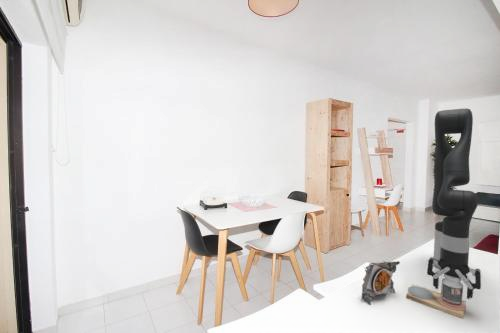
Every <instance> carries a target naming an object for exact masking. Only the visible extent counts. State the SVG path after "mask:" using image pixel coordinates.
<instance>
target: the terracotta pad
mask: <svg viewBox="0 0 500 333" xmlns="http://www.w3.org/2000/svg"><path fill="white" fill-rule="evenodd" d="M437 301H438V302H439V303H440V304H441V305H443V306H444V307H447V308H449V309H452V310H456V311H464V312H465V311H466V310H467V305H465V304H464V303H463V302H462V306H460V307H453V306H450V305H447V304H446V303H444V302H443V301H442V300H441V296H439V297H437Z"/></svg>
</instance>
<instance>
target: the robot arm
mask: <svg viewBox="0 0 500 333" xmlns="http://www.w3.org/2000/svg"><path fill="white" fill-rule="evenodd" d="M473 121H474V118H473V112H472V110H471V109H470V108H455V109H445V110H439V111H437V112H436V114H435V117H434V138H435V139H434V141H435V142H434V143H435V144H434V145H435V150H434V151H435V152H434V153H435V154H434V162H433V163H434V167H433V176H434V177H433V180H434V181H433V193H432V195H433V196H432V204H431V206H432V207H431V209H432V212H433V214H434V215H437V216H442V217H443V219H442V221H438V222H436V223H435V225H434V243H433V257H432V256H431V257H430V258H428V262H427V263H428V264H427V270H426V274H427V275H428V276H431V277H432V278H433V279H432V280H433V281H432V285H433V287H434V289H435V290H438V289H439V286H440V285H439V283H440V277H442V276H444V273H445V274H446V275H449V276H453V277H456V278H461V282H463V283H464V284H465V285H466V287H467V288H466V299H467V300H470V299H472V298H473V295H474V290H481V288H482V282H481V281H482V278H481V277H482V274H481V273H482V272H481V269H480V268H476V269H475V268H470V267H469V258H470V257H469V255H470V239H469V237H470V225H471V222H472V218H473V216H474V214H475V212H476V210H477V207H479V196H478V195H477V194H476V193H475V192H474V191H472V190H461V189H451V188H453V187H462V186H466V185H468V184H469V183H470V180H471V178H470V177H471V175H470V174H471V172H470V152H471V145H472V138H473V137H472V136H473V125H474V124H473ZM452 134H453V135H454V134H455V135H457V134H460V137H459V140H458V142H457V143H456V144H455V146H454V147H452V146H451V144H450V143H449V142H448V140H447V138H446V135H452ZM434 267H436V268H437V269H438V270H437V271H433V270H434V269H433V268H434ZM469 273H470V274H471V275H472V276H473V277H474V279H475V281H474V282H472V281H471V280H470V278H469V276H468V274H469Z"/></svg>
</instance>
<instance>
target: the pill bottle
mask: <svg viewBox="0 0 500 333" xmlns="http://www.w3.org/2000/svg"><path fill="white" fill-rule="evenodd" d="M443 277H444V278H442V280H441V287H440V288H441V289H440V293H441V300H442V301H443V302H444V303H446V304H447V305H450V306H453V307H460V306H462V300H463V293H464V292H463V291H464V290H463V289H464V288H463V287H464V285H463V283H462V279H461V278H456V277H453V276H449V275H446V274H445V273H444V274H443Z"/></svg>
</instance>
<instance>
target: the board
mask: <svg viewBox="0 0 500 333" xmlns="http://www.w3.org/2000/svg"><path fill="white" fill-rule="evenodd" d="M411 286H417V287H422V288H424V289H427V290H429V291H430V292H432V293H433V295H434V298H433V299H421V298H418V297H415V296H413V295H412V294H410V293H409V292H408V291H407V293H406V296H405V298H406V299H408V300H411V301H414V302H416V303H419V304H422V305H425V306H427V307H431V308H433V309H436V310H439V311H441V312H444V313H447V314H450V315H452V316H454V317H458V318H461V319H464V315H465V310H464V311H456V310H452V309H449V308H447V307H444V306H443V305H441V304H440V303H439V302H438V301H437V297H439V296H441V292H438V291H435V290H432V289H430V288H426V287H423V286H419V285H416V284H414V283H412V285H411ZM462 302H463V303H464V304H465V305H466V302H467V301H466V300H463V299H462ZM466 306H467V305H466Z"/></svg>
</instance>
